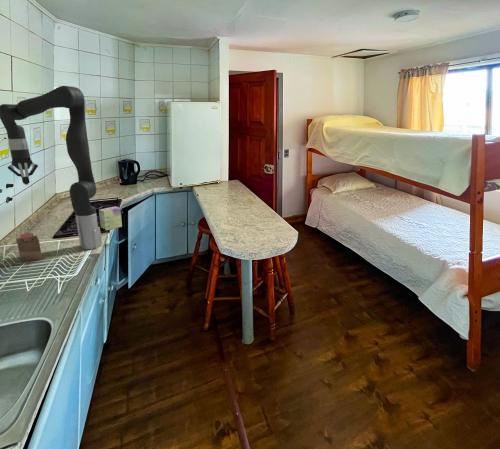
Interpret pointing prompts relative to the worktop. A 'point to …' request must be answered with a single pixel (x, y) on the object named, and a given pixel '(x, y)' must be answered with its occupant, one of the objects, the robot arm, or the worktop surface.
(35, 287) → the worktop surface
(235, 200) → the worktop surface
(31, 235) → the red mushroom
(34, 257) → the housing
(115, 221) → the box
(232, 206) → the worktop surface
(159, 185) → the worktop surface
